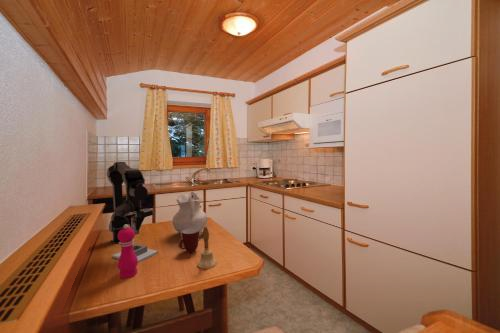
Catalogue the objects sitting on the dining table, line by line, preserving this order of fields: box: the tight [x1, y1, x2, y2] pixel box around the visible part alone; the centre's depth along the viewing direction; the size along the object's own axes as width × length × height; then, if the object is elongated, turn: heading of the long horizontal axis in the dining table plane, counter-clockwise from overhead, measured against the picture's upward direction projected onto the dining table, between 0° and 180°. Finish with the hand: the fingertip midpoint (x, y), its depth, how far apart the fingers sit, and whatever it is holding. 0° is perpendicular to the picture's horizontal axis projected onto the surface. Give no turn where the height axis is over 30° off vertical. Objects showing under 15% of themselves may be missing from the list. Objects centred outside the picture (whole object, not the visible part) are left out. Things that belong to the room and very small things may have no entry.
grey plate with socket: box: [112, 243, 159, 264], centre depth 110 cm, size 16×12×4 cm
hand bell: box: [196, 226, 218, 270], centre depth 100 cm, size 8×8×16 cm
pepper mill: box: [116, 224, 139, 279], centre depth 92 cm, size 7×7×20 cm
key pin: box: [131, 216, 140, 236], centre depth 110 cm, size 3×3×8 cm
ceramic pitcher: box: [172, 191, 208, 238], centre depth 135 cm, size 22×20×25 cm
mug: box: [178, 228, 200, 254], centre depth 112 cm, size 10×8×10 cm
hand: (135, 229), depth 110 cm, fingers closed on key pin, 3 cm apart
